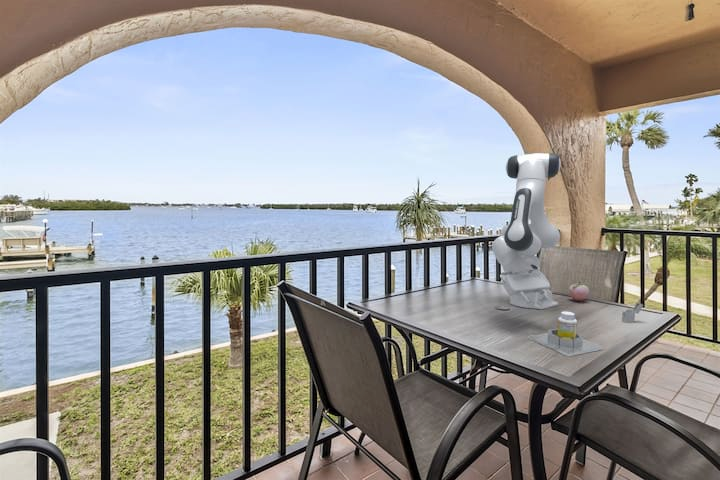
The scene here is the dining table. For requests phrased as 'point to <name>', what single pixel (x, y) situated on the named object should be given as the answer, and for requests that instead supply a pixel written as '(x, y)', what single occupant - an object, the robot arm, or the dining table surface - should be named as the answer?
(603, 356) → the dining table surface
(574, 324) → the supplement bottle
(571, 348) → the socket
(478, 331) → the dining table surface
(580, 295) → the decorative fruit
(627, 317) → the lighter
